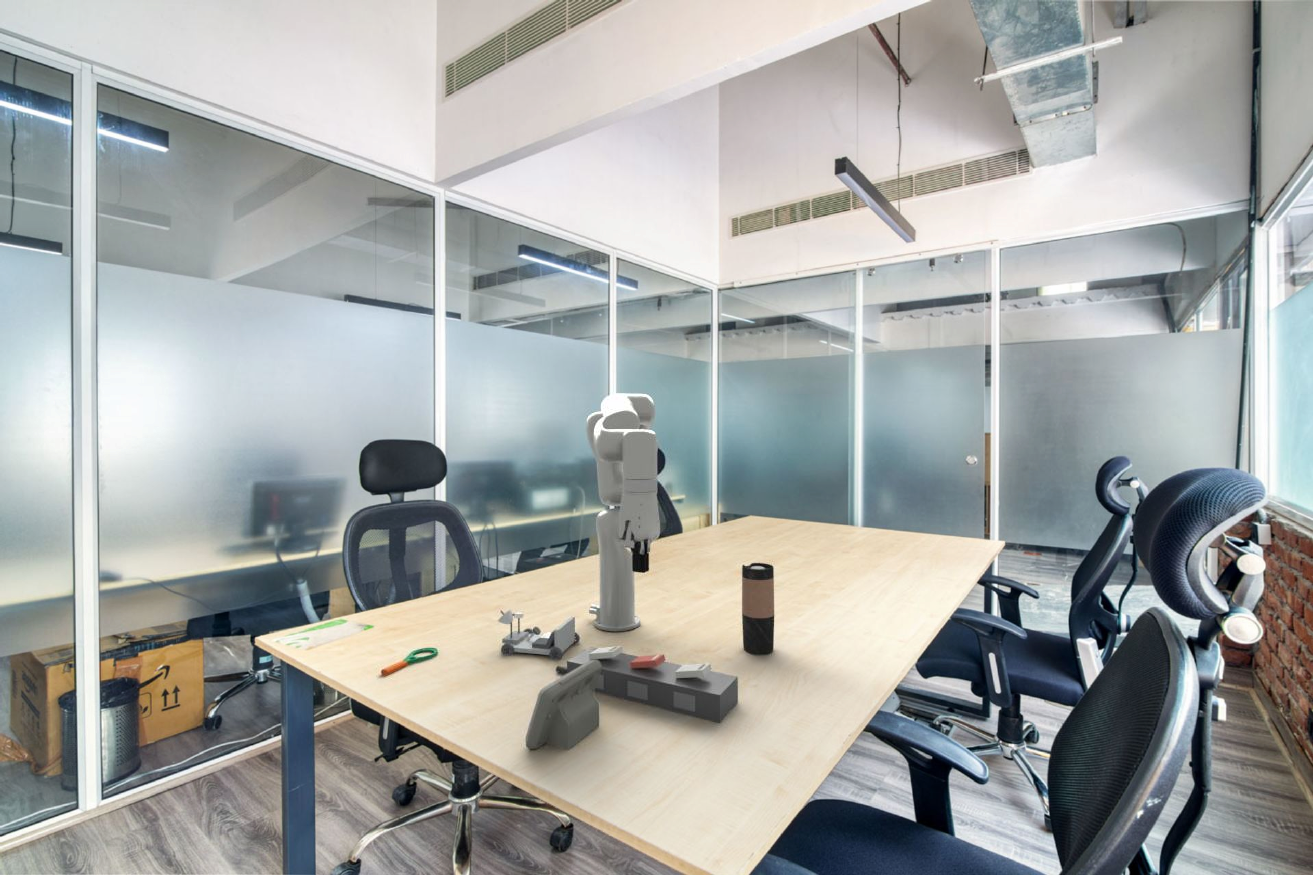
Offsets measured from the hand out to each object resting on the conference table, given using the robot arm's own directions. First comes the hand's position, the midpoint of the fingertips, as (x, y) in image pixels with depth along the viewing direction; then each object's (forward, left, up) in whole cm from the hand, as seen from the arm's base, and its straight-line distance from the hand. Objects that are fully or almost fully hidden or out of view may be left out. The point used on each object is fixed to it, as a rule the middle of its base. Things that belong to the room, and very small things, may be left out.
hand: (640, 571), depth 126 cm
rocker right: (+16, -8, -17) cm, 25 cm away
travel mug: (+18, +25, -22) cm, 38 cm away
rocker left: (-4, -8, -17) cm, 19 cm away
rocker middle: (+6, -8, -17) cm, 20 cm away
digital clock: (+1, -28, -22) cm, 36 cm away
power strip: (+3, -8, -22) cm, 24 cm away
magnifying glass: (-50, -19, -23) cm, 58 cm away
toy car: (-30, +1, -23) cm, 38 cm away
